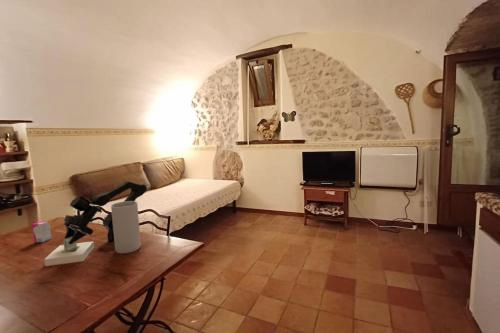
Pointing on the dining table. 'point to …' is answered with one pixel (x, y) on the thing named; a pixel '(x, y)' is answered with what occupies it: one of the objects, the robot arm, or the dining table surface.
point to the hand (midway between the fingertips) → (66, 243)
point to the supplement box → (41, 231)
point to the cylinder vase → (126, 226)
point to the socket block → (69, 254)
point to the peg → (69, 247)
